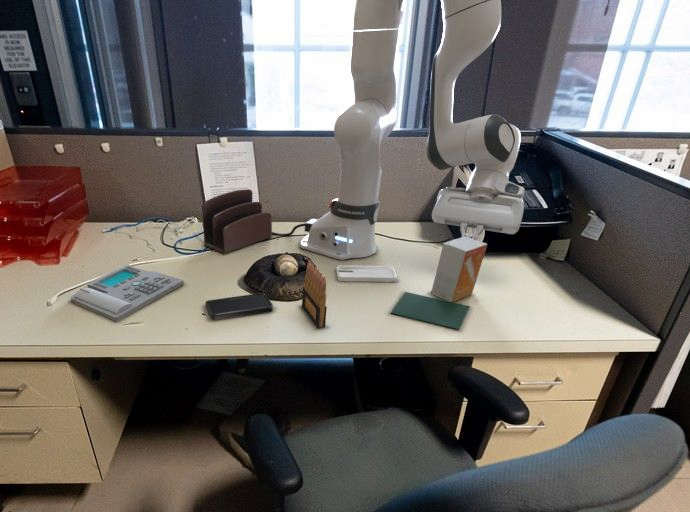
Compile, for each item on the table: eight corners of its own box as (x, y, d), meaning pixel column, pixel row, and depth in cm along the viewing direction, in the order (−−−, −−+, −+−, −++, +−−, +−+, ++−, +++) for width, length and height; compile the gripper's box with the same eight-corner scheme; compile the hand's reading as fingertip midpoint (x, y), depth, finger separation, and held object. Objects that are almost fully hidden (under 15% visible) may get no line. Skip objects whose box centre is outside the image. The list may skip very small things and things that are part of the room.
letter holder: (203, 245, 145) (200, 198, 136) (251, 229, 155) (250, 185, 147) (224, 254, 139) (222, 206, 130) (272, 237, 149) (273, 191, 141)
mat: (390, 314, 109) (390, 312, 109) (405, 293, 117) (405, 291, 117) (458, 330, 102) (458, 329, 102) (468, 307, 111) (469, 306, 110)
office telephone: (115, 313, 106) (59, 290, 116) (117, 323, 108) (62, 300, 117) (183, 275, 121) (128, 258, 131) (184, 284, 123) (130, 267, 132)
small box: (451, 303, 112) (466, 251, 105) (430, 293, 117) (442, 242, 109) (472, 294, 116) (488, 243, 108) (451, 285, 120) (464, 235, 112)
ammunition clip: (325, 327, 104) (330, 277, 97) (317, 328, 104) (321, 278, 97) (308, 305, 113) (312, 258, 106) (301, 306, 112) (304, 258, 105)
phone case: (338, 281, 123) (396, 282, 122) (339, 276, 122) (397, 277, 121) (335, 269, 129) (391, 270, 128) (336, 265, 128) (392, 265, 127)
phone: (274, 307, 110) (211, 316, 107) (273, 311, 111) (211, 320, 108) (264, 292, 116) (204, 300, 113) (264, 296, 117) (204, 304, 114)
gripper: (441, 178, 118) (423, 229, 117) (532, 189, 109) (513, 243, 108) (441, 192, 123) (423, 241, 123) (527, 203, 115) (509, 255, 114)
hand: (466, 242), depth 115 cm, fingers closed
